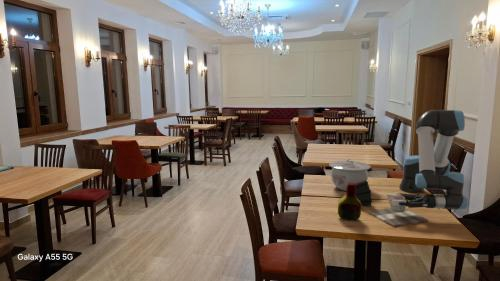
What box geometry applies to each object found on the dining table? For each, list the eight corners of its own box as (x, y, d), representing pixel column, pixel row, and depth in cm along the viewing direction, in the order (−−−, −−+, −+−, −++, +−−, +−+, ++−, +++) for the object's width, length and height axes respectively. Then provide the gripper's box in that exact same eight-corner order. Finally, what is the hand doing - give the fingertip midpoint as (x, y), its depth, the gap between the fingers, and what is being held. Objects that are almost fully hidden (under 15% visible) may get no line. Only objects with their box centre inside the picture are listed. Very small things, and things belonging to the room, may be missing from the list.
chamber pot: (364, 197, 209) (365, 166, 206) (322, 190, 223) (323, 161, 220) (373, 186, 232) (375, 157, 229) (335, 180, 247) (336, 153, 243)
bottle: (361, 218, 176) (363, 182, 173) (360, 222, 170) (362, 185, 167) (338, 215, 181) (339, 180, 177) (336, 219, 175) (338, 183, 172)
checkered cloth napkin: (399, 208, 190) (400, 206, 190) (427, 221, 171) (428, 219, 171) (367, 212, 184) (368, 211, 183) (393, 227, 165) (393, 225, 165)
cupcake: (399, 206, 182) (400, 189, 181) (410, 212, 173) (412, 194, 172) (384, 208, 180) (385, 190, 179) (395, 214, 171) (396, 196, 170)
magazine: (377, 204, 191) (366, 181, 192) (355, 211, 197) (345, 188, 197) (377, 202, 195) (366, 179, 195) (355, 209, 200) (345, 186, 201)
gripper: (442, 215, 163) (395, 213, 166) (424, 201, 185) (383, 199, 188) (443, 201, 162) (396, 199, 165) (426, 188, 184) (384, 186, 187)
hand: (389, 199), depth 176 cm, fingers closed on cupcake, 9 cm apart
